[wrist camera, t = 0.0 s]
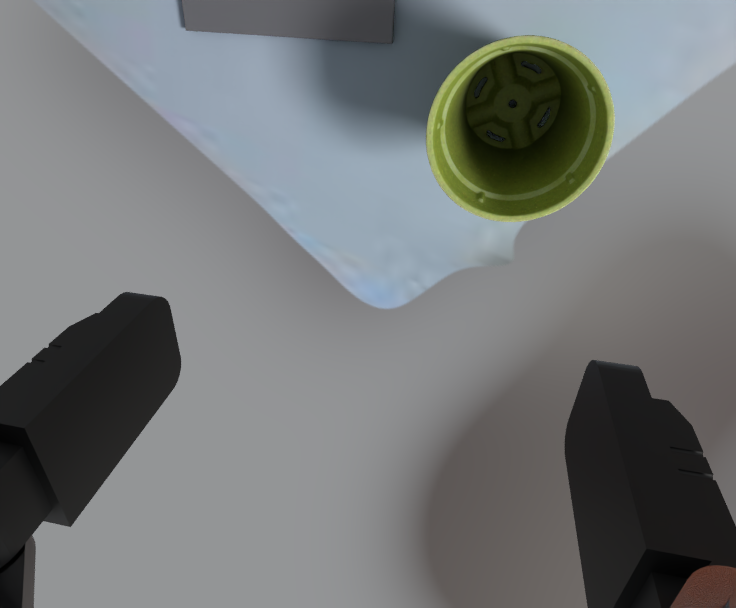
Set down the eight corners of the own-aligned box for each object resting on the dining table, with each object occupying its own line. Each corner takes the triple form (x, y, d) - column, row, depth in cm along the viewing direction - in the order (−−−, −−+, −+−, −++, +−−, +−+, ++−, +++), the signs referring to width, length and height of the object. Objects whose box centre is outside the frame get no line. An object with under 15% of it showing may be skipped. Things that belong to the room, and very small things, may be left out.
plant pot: (417, 140, 37) (399, 183, 30) (477, -6, 31) (473, 3, 24) (539, 192, 37) (551, 247, 30) (619, 55, 32) (657, 82, 25)
